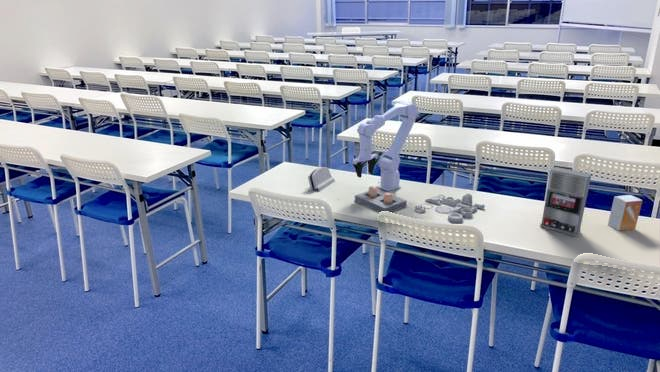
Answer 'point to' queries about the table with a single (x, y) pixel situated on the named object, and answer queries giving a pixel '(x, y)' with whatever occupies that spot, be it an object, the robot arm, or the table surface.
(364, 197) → the housing
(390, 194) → the fitted pink peg
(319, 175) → the hinge
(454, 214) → the robot parts
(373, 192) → the pink rounded capsule
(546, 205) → the cassette tape recorder
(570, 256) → the table surface
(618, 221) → the small box
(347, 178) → the table surface
